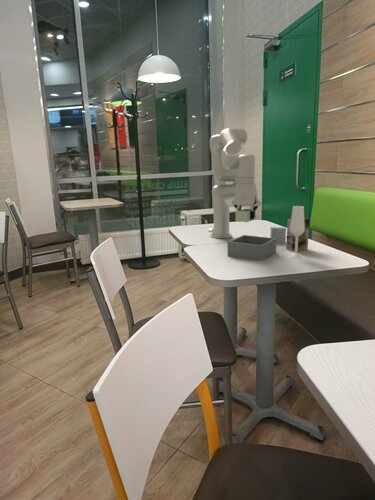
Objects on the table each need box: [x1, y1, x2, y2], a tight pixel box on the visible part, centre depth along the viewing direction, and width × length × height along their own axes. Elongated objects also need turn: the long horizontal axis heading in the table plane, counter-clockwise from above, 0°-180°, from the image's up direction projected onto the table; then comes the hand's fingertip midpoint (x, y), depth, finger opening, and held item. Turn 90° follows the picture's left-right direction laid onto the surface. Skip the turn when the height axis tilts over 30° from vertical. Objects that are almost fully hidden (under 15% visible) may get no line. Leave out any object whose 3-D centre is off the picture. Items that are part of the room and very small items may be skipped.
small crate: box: [235, 208, 257, 223], centre depth 173 cm, size 6×10×5 cm, turn 144°
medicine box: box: [269, 226, 287, 244], centre depth 198 cm, size 8×4×9 cm, turn 84°
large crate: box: [227, 234, 277, 262], centre depth 176 cm, size 18×18×7 cm
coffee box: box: [285, 217, 310, 252], centre depth 182 cm, size 9×6×16 cm
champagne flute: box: [288, 205, 305, 259], centre depth 167 cm, size 7×7×24 cm
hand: (245, 218), depth 173 cm, fingers closed on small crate, 6 cm apart
